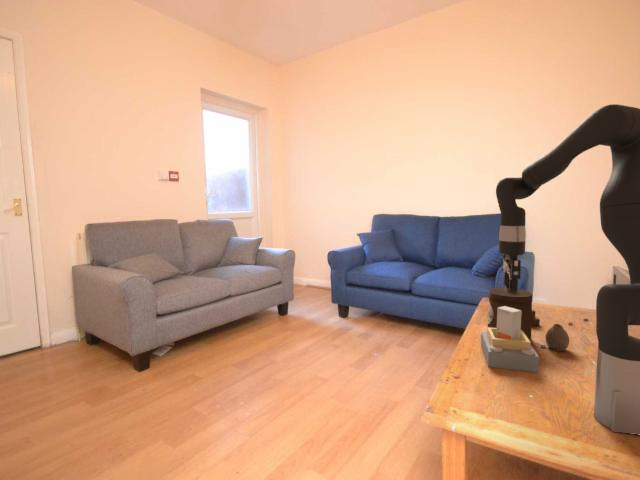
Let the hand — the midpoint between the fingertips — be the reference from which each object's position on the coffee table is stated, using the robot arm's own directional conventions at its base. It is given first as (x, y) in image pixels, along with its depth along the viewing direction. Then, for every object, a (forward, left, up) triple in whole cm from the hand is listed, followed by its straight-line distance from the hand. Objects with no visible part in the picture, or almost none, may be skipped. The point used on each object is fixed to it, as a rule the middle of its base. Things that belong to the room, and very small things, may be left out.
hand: (510, 288), depth 114 cm
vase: (+12, -18, -24) cm, 32 cm away
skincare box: (0, 0, -19) cm, 19 cm away
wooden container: (+19, -4, -24) cm, 31 cm away
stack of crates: (+39, -14, -25) cm, 48 cm away
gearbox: (0, 0, -24) cm, 24 cm away
